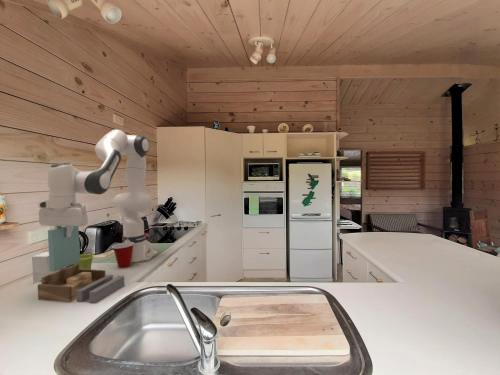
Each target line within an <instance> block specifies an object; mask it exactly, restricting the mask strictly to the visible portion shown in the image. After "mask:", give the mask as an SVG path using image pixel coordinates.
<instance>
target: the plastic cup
mask: <svg viewBox="0 0 500 375" xmlns="http://www.w3.org/2000/svg"><path fill="white" fill-rule="evenodd" d="M133 245H134V242H125V243H123V242H121V243H120V242H119V243H116V244H114V245H112V246H111V248H112V249H113V251H114V256H115V260H116V262H117V267H118V268H121V269H123V268H129V267H130V266H131V263H132V262H131V258H132V250H133Z"/></svg>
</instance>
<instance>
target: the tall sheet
mask: <svg viewBox="0 0 500 375" xmlns="http://www.w3.org/2000/svg"><path fill="white" fill-rule="evenodd" d="M79 230H80V229H79V227H78V226H74V228H73V230H72V232H71V237H65V234H64V233H66V232H67V229H66V226H62V227H61V228H56V229H55V228H53V229H52V228H51V229H48V230H47V240H48V242H47V244H48V252H49V264H50V271H57V270H59V269H60V270H62V269H65V268H68V267H70V266H73V265H74V264H75V263H77V262H80V255H81V253H80V250H81V249H80V231H79Z"/></svg>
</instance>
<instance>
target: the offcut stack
mask: <svg viewBox="0 0 500 375" xmlns="http://www.w3.org/2000/svg"><path fill="white" fill-rule="evenodd" d="M66 280H67V284H66V285H64V286H71V289H72V297H74V296H76V291H77V290H79V289H81V288H83V287H85V286H87V285H89V284H91V283H93V282H95V281H92V277H91V272H82V273H79V274H77V275H75V276H72V277H70V278H68V279H66Z"/></svg>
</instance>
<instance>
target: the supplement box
mask: <svg viewBox="0 0 500 375" xmlns="http://www.w3.org/2000/svg"><path fill="white" fill-rule="evenodd" d="M31 262H32V265H31V266H32V283H33V285H34V284H36V283H39V282H41V278H42V277H44V276H47V275H49V274H52V273H55V272H57V271H60V270H61V269H59V270H57V271H50V264H49V251H44V252H42V253H38V254H35V255H32V256H31Z"/></svg>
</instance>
